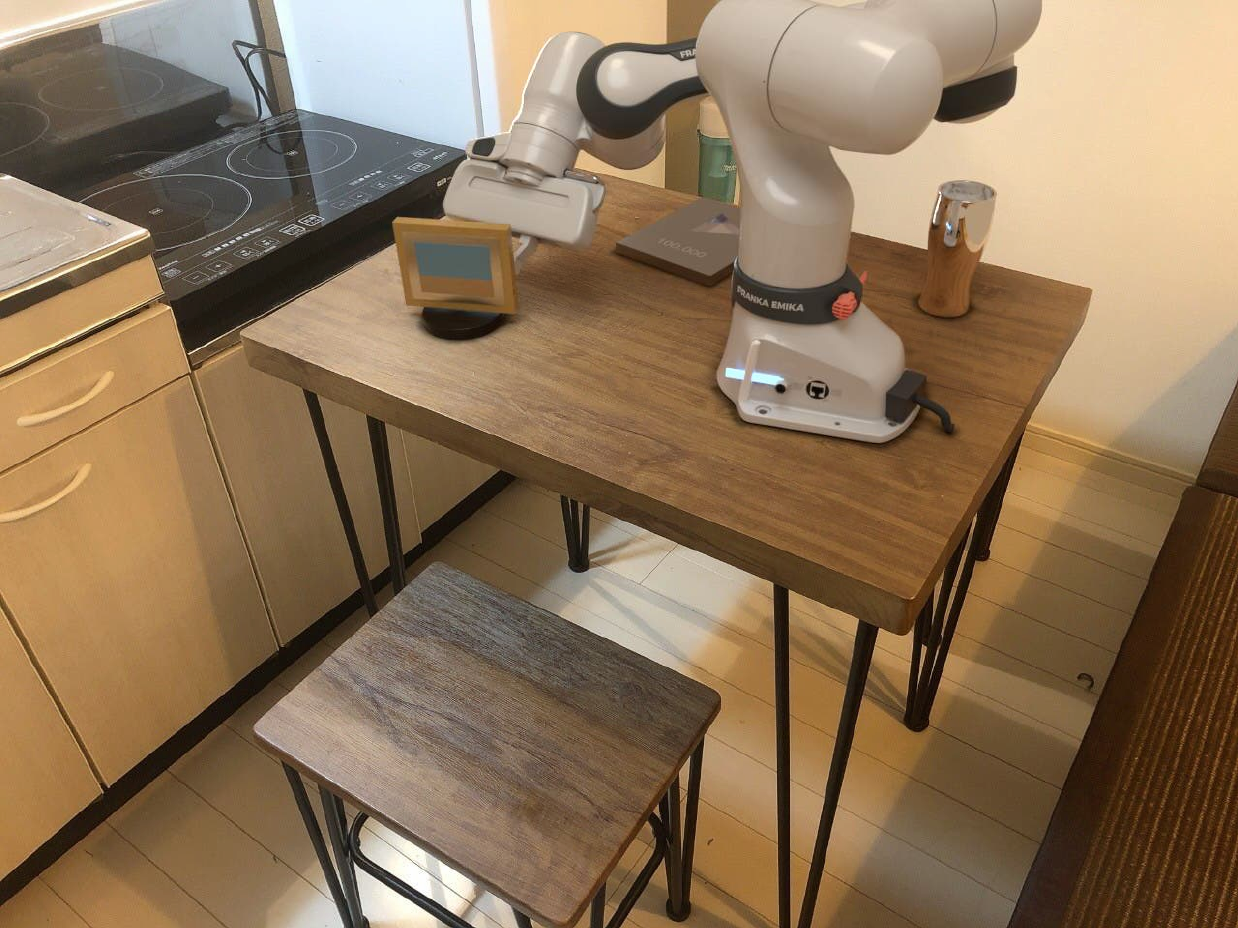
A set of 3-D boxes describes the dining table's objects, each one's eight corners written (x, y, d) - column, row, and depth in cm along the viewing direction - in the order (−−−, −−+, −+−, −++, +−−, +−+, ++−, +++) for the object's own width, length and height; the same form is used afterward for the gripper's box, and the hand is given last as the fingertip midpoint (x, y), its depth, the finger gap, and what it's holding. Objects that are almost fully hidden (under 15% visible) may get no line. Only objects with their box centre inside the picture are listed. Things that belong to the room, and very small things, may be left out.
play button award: (615, 242, 134) (702, 197, 146) (616, 252, 135) (702, 206, 146) (710, 276, 125) (794, 225, 137) (709, 286, 126) (793, 235, 138)
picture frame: (518, 308, 119) (510, 224, 112) (514, 315, 118) (506, 230, 111) (411, 299, 121) (396, 216, 115) (405, 306, 120) (391, 223, 113)
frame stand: (519, 310, 122) (518, 300, 121) (473, 347, 115) (472, 336, 114) (455, 293, 126) (453, 283, 125) (407, 328, 119) (405, 317, 118)
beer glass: (981, 303, 121) (1008, 188, 112) (957, 325, 117) (983, 208, 108) (929, 287, 125) (952, 174, 116) (904, 308, 121) (925, 193, 112)
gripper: (620, 189, 117) (582, 296, 117) (482, 161, 125) (446, 261, 125) (600, 166, 111) (560, 279, 111) (457, 138, 119) (419, 243, 119)
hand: (499, 269), depth 118 cm, fingers closed
